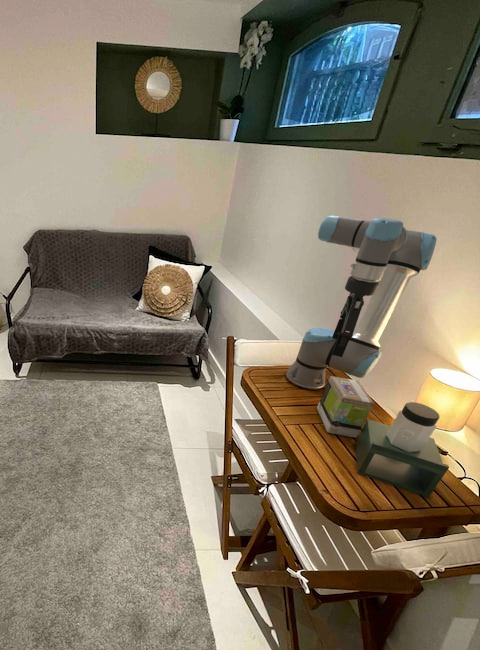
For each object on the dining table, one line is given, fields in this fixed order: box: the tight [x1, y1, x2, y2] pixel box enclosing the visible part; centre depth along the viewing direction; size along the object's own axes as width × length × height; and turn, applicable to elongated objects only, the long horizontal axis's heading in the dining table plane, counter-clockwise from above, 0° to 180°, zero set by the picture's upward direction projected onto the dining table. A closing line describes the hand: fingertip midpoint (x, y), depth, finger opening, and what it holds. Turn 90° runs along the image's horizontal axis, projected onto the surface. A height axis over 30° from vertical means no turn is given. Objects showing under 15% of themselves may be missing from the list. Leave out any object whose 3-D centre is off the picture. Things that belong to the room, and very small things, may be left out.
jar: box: [387, 401, 441, 452], centre depth 108 cm, size 9×8×12 cm
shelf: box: [354, 418, 450, 498], centre depth 113 cm, size 16×18×12 cm
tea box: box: [316, 375, 375, 438], centre depth 131 cm, size 15×10×15 cm, turn 168°
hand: (336, 346), depth 115 cm, fingers open, 13 cm apart
